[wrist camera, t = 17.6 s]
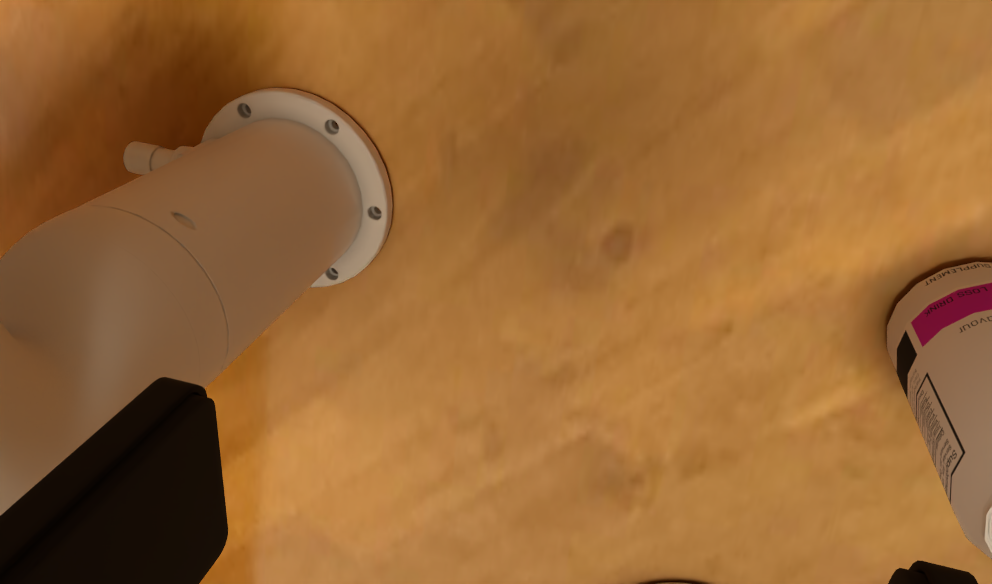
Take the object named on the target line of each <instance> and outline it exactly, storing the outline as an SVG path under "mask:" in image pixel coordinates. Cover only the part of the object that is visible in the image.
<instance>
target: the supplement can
mask: <svg viewBox="0 0 992 584" xmlns="http://www.w3.org/2000/svg"><path fill="white" fill-rule="evenodd" d="M887 350H888V353H889V355H890V358H891V360H892V363H893V365H894V367H895V370H896V372H897V375H898V377H899V380H900V382H901V384H902V387H903V389H904V392H905V394H906V397H907V399H908V401H909V404H910V406H911V409H912V411H913V414H914V416H915V418H916V421H917V423H918V426H919V428H920V431H921V433H922V436H923V438H924V440H925V443H926V445H927V448H928V450H929V453H930V455H931V457H932V460H933V462H934V465H935V467H936V470H937V472H938V474H939V477H940V479H941V482H942V484H943V487H944V489H945V491H946V494H947V496H948V499H949V501H950V504H951V506H952V509H953V511H954V513H955V515H956V517H957V519H958V521H959V524H960V526H961V528H962V530H963V532H964V534H965V536H966V538H967V539H968V540H969V541H970V542H972V543H973V544H974V545H975V546H976V547H978V548H979V549H980V550H981V551H982V552H984V553H985V554H986V555H987V556H988V557H990V558H991V559H992V263H988V262H974V263H969V264H965V265H960V266H956V267H951V268H947V269H943V270H942V271H940V272H938V273H936V274H934V275H932V276H930V277H928V278H927V279H925V280H923V281H921V282H919V283H917V284H916V285H915V286H914V287H913V288H912V289H911V290H910V291H909V292H908V293H907V294H906V295H905V296H904V297H903V298H902V299H901V300H900V301H899V302H898V303H897V305H896V307H895V310H894V312H893V314H892V316H891V318H890V321H889V323H888V325H887Z"/></svg>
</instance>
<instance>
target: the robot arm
mask: <svg viewBox="0 0 992 584" xmlns="http://www.w3.org/2000/svg"><path fill="white" fill-rule="evenodd" d="M249 107H250V108H249ZM335 121H336V123H337V124H338V126H339V127H337V126H336V125H335ZM123 159H124V165H125V167H126V169H127V170H128V171H129V172H131V173H135V174H140V175H143V176H140V177H138V178H136V179H134V180H132V181H130V182H128V183H126V184H124V185H122V186H120V187H118V188H116V189H114V190H112V191H109V192H107V193H105V194H103V195H101V196H99V197H97V198H95V199H93V200H91V201H89V202H87V203H85V204H83V205H80V206H78V207H76V208H74V209H72V210H69V211H67V212H65V213H63V214H61V215H58V216H56V217H54V218H52V219H50V220H48V221H46V222H44V223H43V224H41V225H39V226H38V227H36V228H35V229H33V230H31V231H30V232H28V233H27V234H26V235H25V236H23V237H22V238H21V239H20V240H19V241H18V242H16V243H15V244H14V245H13V246H12V247H11V248H10V249H9V250H8V251H7V252H6V253H5V255H4V256H3V257H2V258H1V259H0V584H199V583H200V582H201V580H202V579H203V578H204V576H205V575H206V574H207V572H208V571H209V569H210V568H211V567H212V565H213V564H214V563H215V561H216V560H217V559H218V557H219V556H220V554H221V552H222V551H223V548H224V546H225V543H226V540H227V535H228V525H227V515H226V506H225V496H224V486H223V477H222V467H221V458H220V448H219V438H218V429H217V419H216V410H215V404H214V401H213V400H212V399H210V398H207V395H206V391H205V389H204V388H205V387H207V386H208V385H209V384H210V383H211V382H212V381H213V380H214V379H215V378H216V377H217V376H218V375H219V374H221V373H222V372H223V371H224V370H225V369H226V368H227V367H228V366H229V365H230V364H231V363H232V362H233V361H234V360H235V359H236V358H237V357H238V356H239V355H240V354H241V353H242V352H243V351H244V350H245V349H246V348H247V347H248V346H249V345H250V344H251V343H252V342H254V341H255V340H256V339H257V338H258V337H259V336H260V335H261V334H262V333H263V332H264V331H265V330H266V329H267V328H268V327H269V326H270V325H271V324H272V323H273V322H274V321H275V320H276V319H277V318H278V317H279V316H280V315H281V314H282V313H283V312H284V311H285V310H286V309H288V308H289V307H290V306H291V305H292V304H293V303H294V302H295V301H296V300H297V299H298V298H299V297H300V296H301V295H302V294H303V293H304V292H305V291H306V290H307V289H308V288H309V287H310V288H311V287H327V286H331V285H335V284H339V283H342V282H344V281H346V280H348V279H350V278H352V277H354V276H356V275H357V274H358V273H360V272H361V271H362V270H363V269H364V268H366V267H367V266H368V265H369V264H370V263H371V261H372V260H373V259H374V258H375V257H376V256H377V255H378V253H379V251H380V250H381V248H382V246H383V244H384V243H385V241H386V239H387V235H388V232H389V229H390V226H391V219H392V208H393V203H392V193H391V186H390V182H389V179H388V175H387V172H386V168H385V166H384V164H383V162H382V160H381V158H380V156H379V153H378V151H377V149H376V148H375V146H374V145H373V143H372V142H371V141H370V139H369V138H368V136H367V135H366V133H365V132H364V131H363V130H362V129H361V128H360V127H359V126H358V125H357V124H356V123H355V122H354V121H353V120H352V119H351V118H350V117H349V116H348V115H347V114H346V113H344V112H343V111H341V110H340V109H339V108H337V107H336V106H335V105H333V104H332V103H330V102H328V101H326V100H324V99H322V98H320V97H318V96H316V95H314V94H310V93H307V92H303V91H300V90H296V89H289V88H276V87H275V88H268V89H261V90H256V91H254V92H251V93H248V94H245V95H243V96H241V97H239V98H237V99H235V100H233V101H231V102H230V103H228V104H226V105H225V106H224V107H223V108H222V109H221V110H220V111H219V112H218V113H217V114H216V115H215V116H214V117H213V119H212V120H211V122H210V123H209V125H208V126H207V128H206V130H205V132H204V135H203V138H202V141H201V143H200V144H199V145H197V146H195V147H189V146H179V147H178V148H177V149H176V150H171V149H166V148H165V147H162V146H158V145H153V144H148V143H143V142H138V141H133V142H131V143H129V144H128V146H127V147H126V148H125V152H124V155H123ZM377 207H378V208H379V209H380V211H379V210H378V209H377ZM888 584H978V583H977V581H976V579H975V577H974V576H973V575H971V574H970V573H969V572H965V571H961V570H957V569H953V568H949V567H945V566H941V565H937V564H932V563H928V562H924V561H916V562H915V563H913V564H912V566H911V567H910V568H909V570H907V569H902V568H899V569H897V570H896V571H895V572H894V574H893V575H892V577H891V579H890V581H889V583H888Z"/></svg>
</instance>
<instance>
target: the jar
mask: <svg viewBox="0 0 992 584" xmlns="http://www.w3.org/2000/svg"><path fill="white" fill-rule="evenodd" d="M657 584H690V583H679V582H669V583H657Z"/></svg>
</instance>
